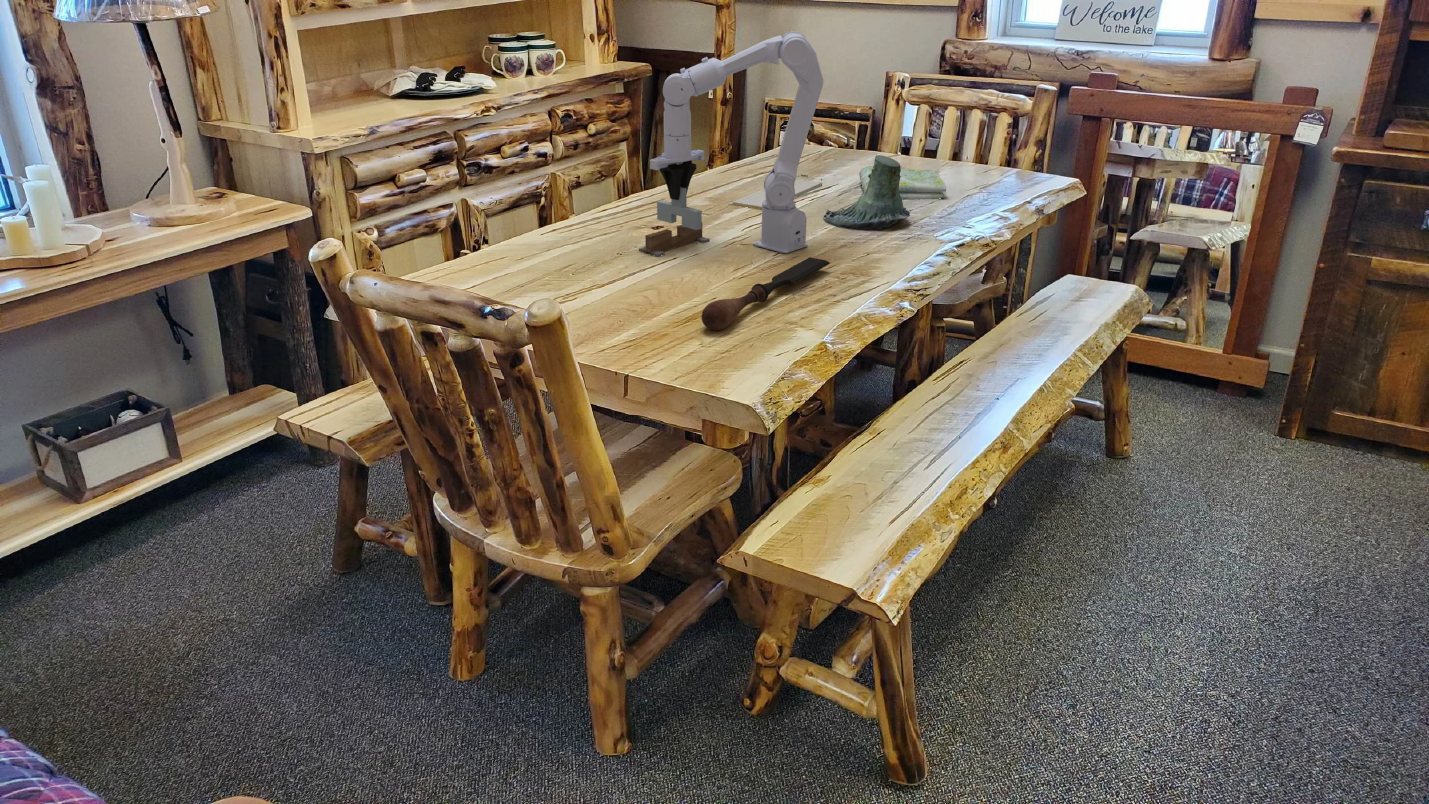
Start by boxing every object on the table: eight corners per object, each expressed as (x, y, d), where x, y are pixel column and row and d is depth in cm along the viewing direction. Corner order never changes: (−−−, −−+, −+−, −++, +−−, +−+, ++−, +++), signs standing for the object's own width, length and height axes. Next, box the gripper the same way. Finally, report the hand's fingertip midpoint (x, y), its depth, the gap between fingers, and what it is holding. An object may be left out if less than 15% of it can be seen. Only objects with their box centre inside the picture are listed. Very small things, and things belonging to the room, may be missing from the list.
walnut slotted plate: (709, 241, 227) (709, 223, 225) (658, 257, 216) (657, 238, 215) (690, 236, 231) (690, 218, 229) (638, 251, 220) (638, 233, 218)
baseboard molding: (723, 206, 257) (764, 213, 251) (723, 194, 256) (765, 201, 250) (783, 182, 281) (822, 188, 275) (783, 171, 280) (822, 177, 274)
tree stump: (841, 208, 256) (864, 139, 247) (913, 238, 248) (938, 168, 240) (809, 221, 241) (831, 148, 232) (883, 254, 234) (909, 180, 225)
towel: (947, 201, 261) (949, 181, 259) (864, 200, 262) (865, 180, 260) (936, 185, 278) (938, 166, 276) (857, 183, 278) (859, 165, 276)
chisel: (695, 331, 178) (695, 304, 176) (809, 267, 210) (810, 244, 208) (719, 337, 175) (719, 310, 173) (830, 272, 208) (832, 248, 206)
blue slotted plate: (701, 228, 219) (701, 191, 216) (696, 230, 218) (696, 193, 215) (662, 218, 227) (661, 182, 223) (657, 219, 225) (656, 183, 222)
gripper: (687, 126, 221) (688, 189, 227) (639, 136, 212) (640, 200, 218) (711, 131, 217) (711, 194, 223) (663, 140, 208) (664, 206, 213)
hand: (678, 198), depth 220 cm, fingers closed on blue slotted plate, 2 cm apart
